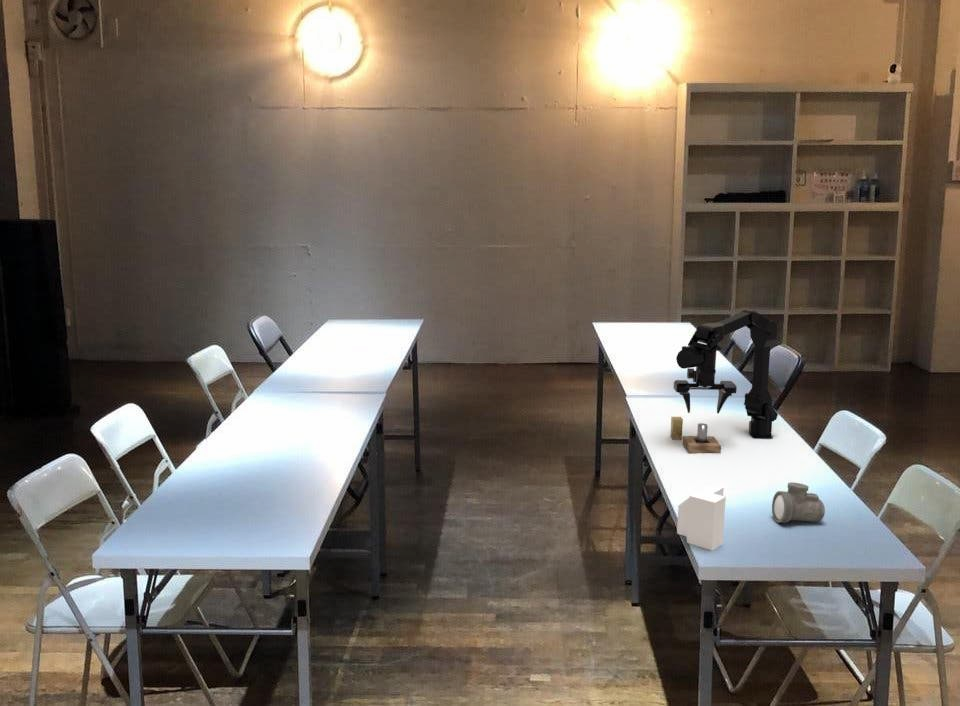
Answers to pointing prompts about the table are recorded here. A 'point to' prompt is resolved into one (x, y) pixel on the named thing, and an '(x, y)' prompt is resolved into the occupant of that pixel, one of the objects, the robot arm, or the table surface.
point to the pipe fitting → (797, 505)
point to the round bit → (702, 433)
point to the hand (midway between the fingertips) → (703, 413)
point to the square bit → (676, 428)
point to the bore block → (701, 445)
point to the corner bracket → (703, 517)
